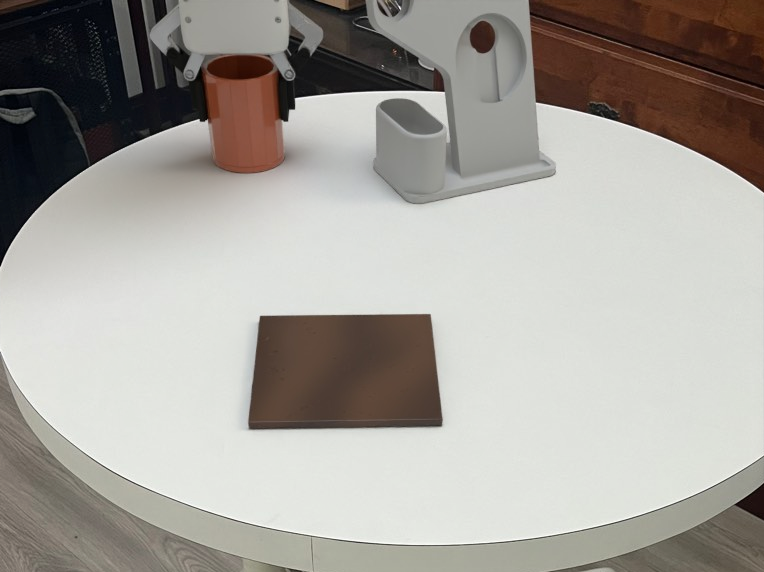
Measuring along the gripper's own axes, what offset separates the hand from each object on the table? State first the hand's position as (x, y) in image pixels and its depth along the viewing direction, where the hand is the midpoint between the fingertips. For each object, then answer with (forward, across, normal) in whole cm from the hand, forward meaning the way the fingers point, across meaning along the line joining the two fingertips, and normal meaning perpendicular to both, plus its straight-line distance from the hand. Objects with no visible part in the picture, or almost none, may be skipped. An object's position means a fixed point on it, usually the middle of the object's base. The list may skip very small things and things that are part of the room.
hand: (245, 115), depth 100 cm
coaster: (+4, -10, +38) cm, 40 cm away
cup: (+4, 0, 0) cm, 4 cm away
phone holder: (+4, -22, +3) cm, 23 cm away
